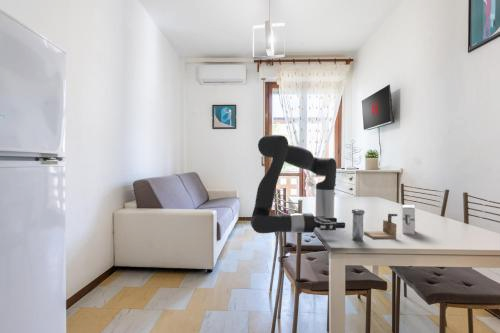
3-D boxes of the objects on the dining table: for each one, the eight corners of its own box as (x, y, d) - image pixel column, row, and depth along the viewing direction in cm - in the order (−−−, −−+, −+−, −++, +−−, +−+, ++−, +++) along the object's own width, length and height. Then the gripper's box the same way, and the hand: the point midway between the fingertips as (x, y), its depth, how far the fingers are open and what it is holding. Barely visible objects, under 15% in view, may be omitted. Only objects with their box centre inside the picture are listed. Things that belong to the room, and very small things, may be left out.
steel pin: (349, 238, 118) (349, 209, 117) (360, 238, 118) (361, 209, 118) (354, 241, 113) (355, 211, 113) (366, 241, 113) (366, 211, 113)
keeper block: (363, 233, 125) (364, 212, 125) (390, 233, 126) (391, 212, 126) (372, 238, 117) (373, 215, 117) (401, 238, 118) (402, 215, 118)
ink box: (402, 229, 134) (403, 204, 133) (415, 230, 131) (415, 205, 131) (401, 233, 126) (402, 206, 126) (414, 235, 124) (415, 207, 123)
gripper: (306, 217, 106) (348, 217, 108) (296, 210, 121) (334, 210, 122) (305, 237, 107) (347, 236, 108) (296, 227, 121) (333, 227, 122)
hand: (340, 222), depth 115 cm, fingers open, 8 cm apart
